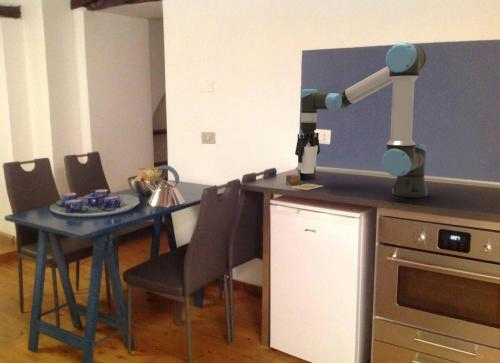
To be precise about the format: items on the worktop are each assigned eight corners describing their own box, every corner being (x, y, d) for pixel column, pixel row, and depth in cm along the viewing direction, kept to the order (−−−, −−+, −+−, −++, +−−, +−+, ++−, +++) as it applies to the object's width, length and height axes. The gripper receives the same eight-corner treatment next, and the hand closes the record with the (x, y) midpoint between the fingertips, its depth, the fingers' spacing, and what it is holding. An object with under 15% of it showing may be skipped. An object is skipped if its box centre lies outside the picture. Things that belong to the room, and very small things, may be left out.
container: (318, 179, 248) (319, 146, 245) (311, 182, 241) (312, 147, 238) (303, 178, 253) (304, 145, 250) (296, 180, 245) (296, 146, 242)
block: (300, 185, 233) (300, 175, 232) (292, 186, 230) (292, 176, 229) (293, 183, 237) (293, 174, 236) (286, 185, 234) (286, 175, 233)
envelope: (324, 186, 229) (324, 185, 229) (306, 190, 219) (306, 189, 219) (307, 184, 236) (307, 183, 236) (290, 187, 226) (290, 187, 226)
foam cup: (316, 174, 221) (317, 147, 218) (296, 173, 222) (297, 146, 220) (317, 171, 230) (318, 145, 227) (298, 170, 232) (299, 144, 229)
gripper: (316, 120, 232) (314, 165, 236) (287, 122, 216) (286, 169, 220) (328, 121, 227) (327, 166, 231) (300, 123, 211) (299, 171, 215)
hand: (307, 168), depth 226 cm, fingers closed on foam cup, 9 cm apart
